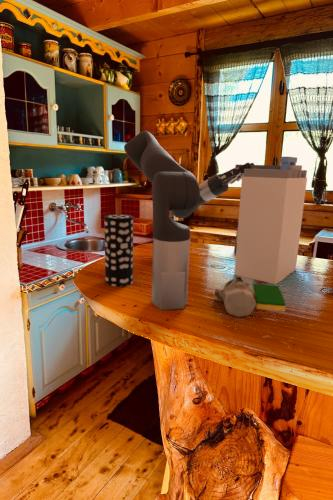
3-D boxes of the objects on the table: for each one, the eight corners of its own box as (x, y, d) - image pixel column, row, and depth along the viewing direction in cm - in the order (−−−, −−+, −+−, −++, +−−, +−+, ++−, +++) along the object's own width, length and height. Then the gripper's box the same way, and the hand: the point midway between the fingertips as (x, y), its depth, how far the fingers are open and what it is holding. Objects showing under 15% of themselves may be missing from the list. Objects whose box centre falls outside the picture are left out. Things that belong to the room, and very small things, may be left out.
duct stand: (295, 269, 120) (309, 157, 111) (275, 284, 104) (289, 155, 95) (258, 262, 128) (268, 157, 119) (234, 274, 113) (243, 155, 103)
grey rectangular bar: (300, 175, 110) (302, 165, 109) (297, 175, 108) (299, 165, 107) (238, 173, 123) (239, 164, 122) (234, 173, 120) (235, 163, 120)
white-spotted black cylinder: (136, 279, 106) (137, 215, 101) (126, 288, 98) (126, 219, 93) (112, 276, 108) (111, 213, 103) (100, 284, 100) (99, 217, 95)
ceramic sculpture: (220, 283, 77) (215, 268, 92) (217, 319, 79) (212, 299, 94) (267, 286, 77) (254, 270, 91) (263, 322, 78) (251, 301, 93)
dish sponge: (255, 310, 86) (256, 301, 85) (252, 291, 99) (253, 283, 99) (284, 313, 85) (285, 304, 84) (277, 293, 98) (278, 285, 97)
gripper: (199, 178, 123) (239, 154, 113) (218, 178, 134) (255, 156, 123) (207, 197, 123) (247, 174, 112) (225, 195, 134) (264, 174, 123)
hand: (251, 165), depth 118 cm, fingers closed on grey rectangular bar, 3 cm apart
